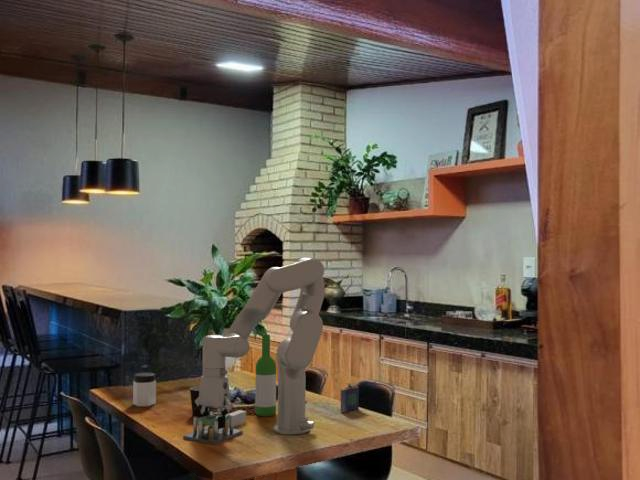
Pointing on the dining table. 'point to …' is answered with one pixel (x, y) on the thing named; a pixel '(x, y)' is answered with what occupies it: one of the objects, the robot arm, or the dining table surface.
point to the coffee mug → (194, 395)
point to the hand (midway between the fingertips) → (213, 426)
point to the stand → (238, 418)
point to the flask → (349, 399)
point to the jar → (144, 389)
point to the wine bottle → (265, 381)
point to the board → (211, 419)
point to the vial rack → (212, 432)
